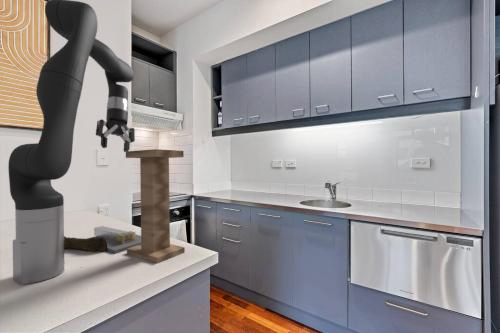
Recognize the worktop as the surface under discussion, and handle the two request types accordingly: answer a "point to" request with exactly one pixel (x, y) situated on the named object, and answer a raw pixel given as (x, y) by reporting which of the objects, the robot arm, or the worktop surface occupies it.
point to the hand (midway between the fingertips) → (115, 149)
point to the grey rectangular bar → (114, 234)
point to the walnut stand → (155, 205)
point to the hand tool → (86, 243)
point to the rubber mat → (121, 245)
